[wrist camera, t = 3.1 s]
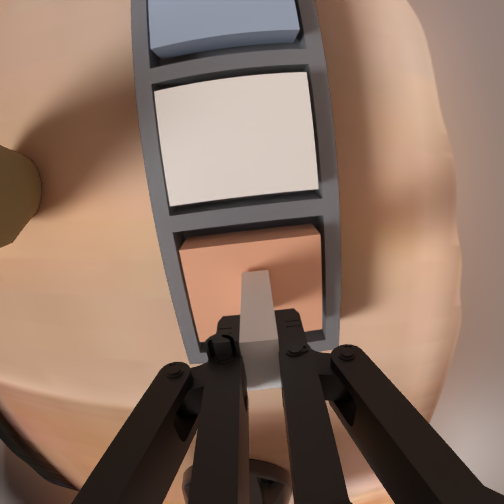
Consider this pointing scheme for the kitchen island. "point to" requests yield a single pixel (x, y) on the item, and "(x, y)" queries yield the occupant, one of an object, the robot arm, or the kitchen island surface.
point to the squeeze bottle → (17, 193)
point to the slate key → (218, 24)
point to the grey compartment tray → (248, 207)
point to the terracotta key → (253, 259)
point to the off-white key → (237, 137)
